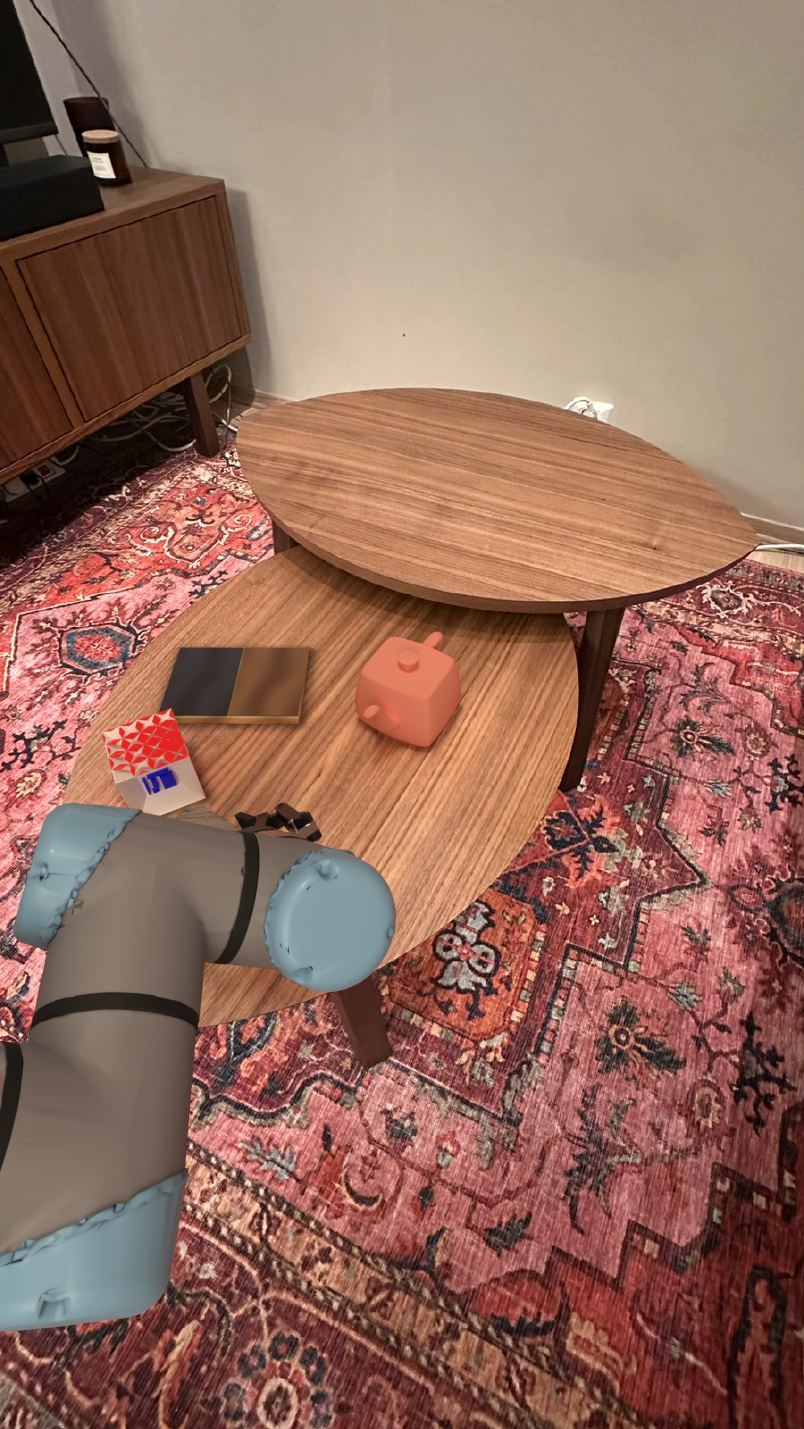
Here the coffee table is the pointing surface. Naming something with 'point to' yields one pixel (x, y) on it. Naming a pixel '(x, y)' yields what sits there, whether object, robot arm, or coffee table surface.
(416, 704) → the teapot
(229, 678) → the board
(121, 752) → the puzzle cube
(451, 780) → the coffee table surface
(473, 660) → the coffee table surface
